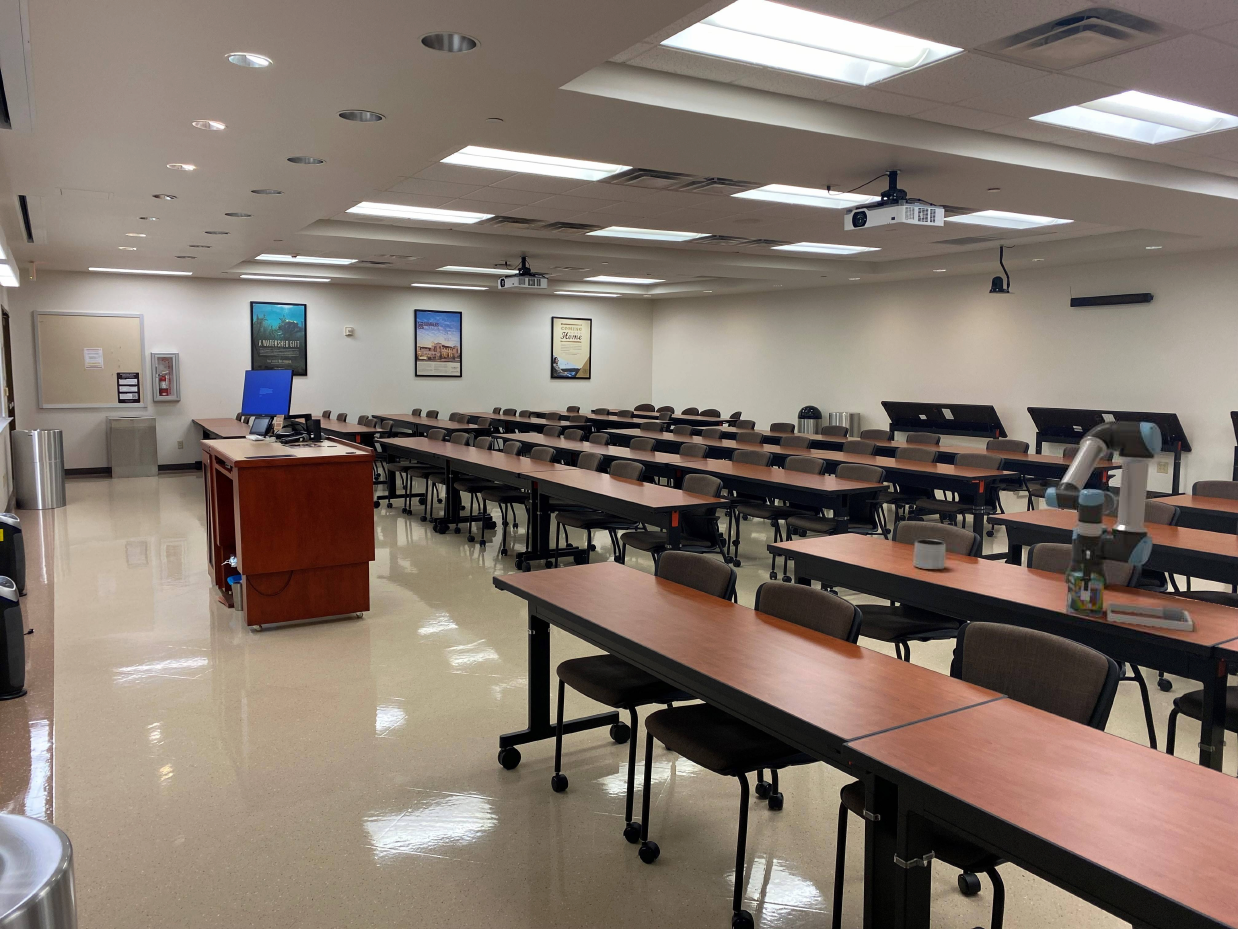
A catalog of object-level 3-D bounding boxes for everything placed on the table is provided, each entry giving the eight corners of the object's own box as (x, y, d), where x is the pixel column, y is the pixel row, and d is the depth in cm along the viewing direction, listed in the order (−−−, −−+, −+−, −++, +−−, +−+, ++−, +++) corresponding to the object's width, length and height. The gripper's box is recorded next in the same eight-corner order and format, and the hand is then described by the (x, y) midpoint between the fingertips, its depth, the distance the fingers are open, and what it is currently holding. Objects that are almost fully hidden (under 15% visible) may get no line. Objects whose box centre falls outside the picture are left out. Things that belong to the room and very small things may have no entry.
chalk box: (1103, 611, 292) (1106, 569, 290) (1074, 609, 294) (1077, 568, 292) (1093, 603, 301) (1096, 562, 299) (1065, 602, 303) (1068, 561, 301)
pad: (1066, 605, 305) (1066, 603, 305) (1101, 609, 300) (1101, 607, 300) (1066, 613, 295) (1066, 611, 295) (1102, 617, 290) (1102, 615, 290)
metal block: (1162, 620, 288) (1163, 605, 287) (1179, 622, 285) (1180, 607, 285) (1163, 624, 283) (1164, 609, 283) (1181, 626, 281) (1182, 611, 280)
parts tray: (1106, 608, 300) (1106, 601, 300) (1186, 618, 289) (1187, 611, 289) (1107, 620, 286) (1107, 613, 286) (1192, 631, 275) (1192, 624, 275)
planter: (947, 566, 363) (948, 540, 361) (941, 572, 352) (942, 546, 351) (917, 562, 369) (918, 537, 368) (910, 568, 359) (911, 542, 357)
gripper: (1077, 527, 306) (1073, 586, 309) (1076, 539, 286) (1072, 602, 289) (1100, 529, 302) (1096, 589, 305) (1102, 541, 282) (1097, 605, 285)
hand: (1084, 595), depth 297 cm, fingers closed on chalk box, 10 cm apart
